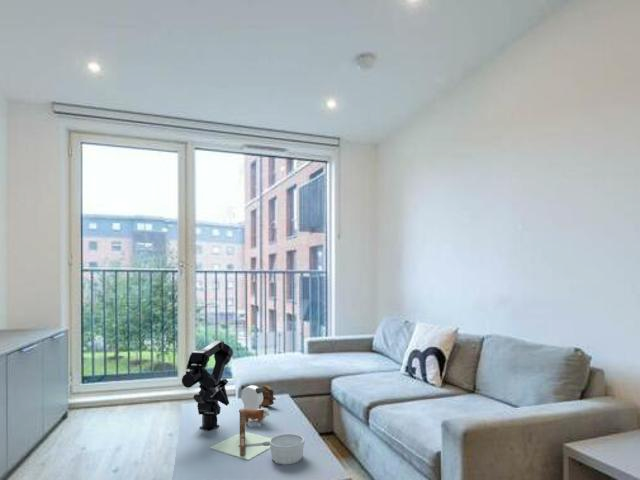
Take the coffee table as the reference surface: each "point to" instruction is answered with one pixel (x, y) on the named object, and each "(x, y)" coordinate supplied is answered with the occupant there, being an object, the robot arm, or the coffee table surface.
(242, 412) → the fence swing panel
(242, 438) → the fence fixed panel
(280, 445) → the ramekin
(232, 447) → the card
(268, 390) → the wooden carving
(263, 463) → the coffee table surface
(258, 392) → the white rounded piece
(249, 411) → the bull figurine
